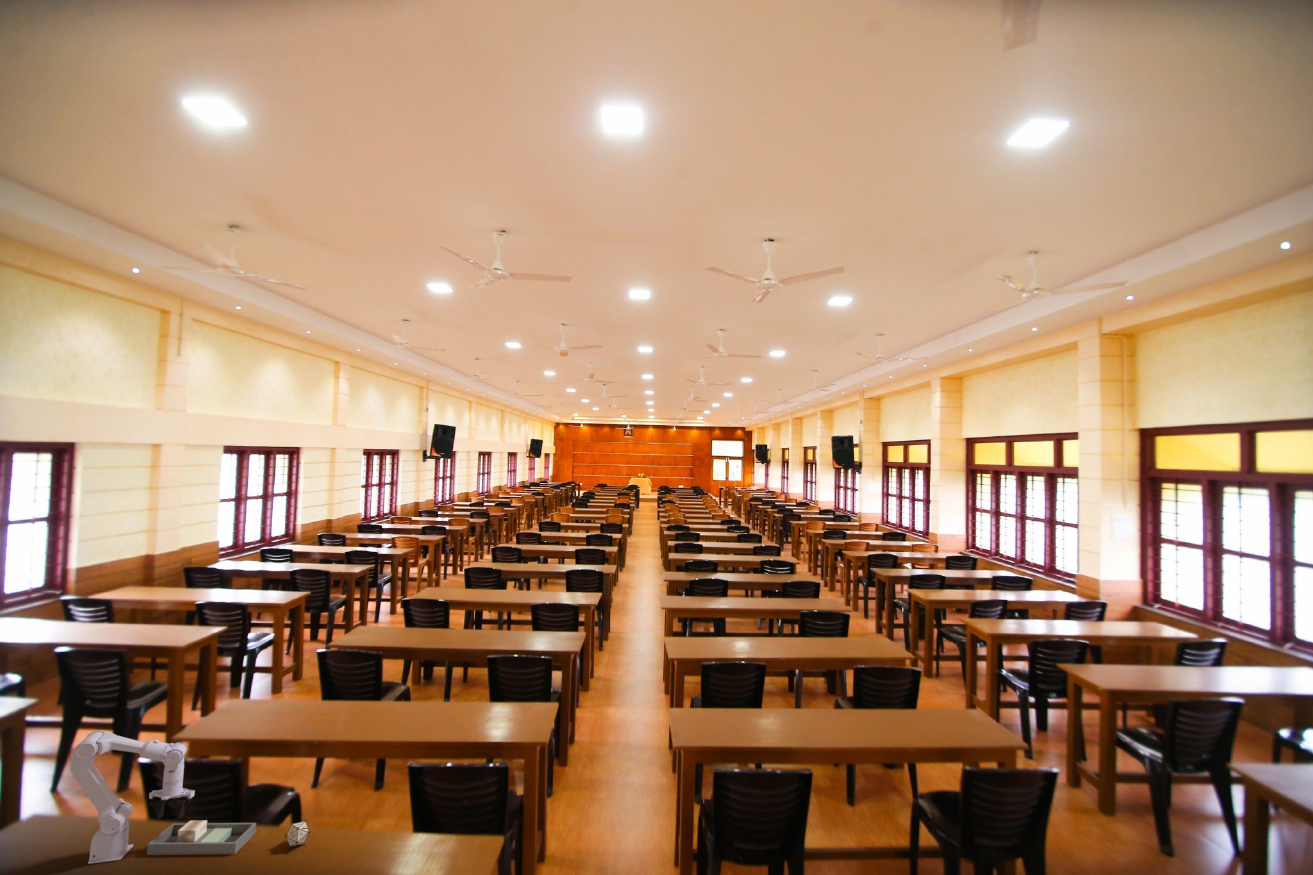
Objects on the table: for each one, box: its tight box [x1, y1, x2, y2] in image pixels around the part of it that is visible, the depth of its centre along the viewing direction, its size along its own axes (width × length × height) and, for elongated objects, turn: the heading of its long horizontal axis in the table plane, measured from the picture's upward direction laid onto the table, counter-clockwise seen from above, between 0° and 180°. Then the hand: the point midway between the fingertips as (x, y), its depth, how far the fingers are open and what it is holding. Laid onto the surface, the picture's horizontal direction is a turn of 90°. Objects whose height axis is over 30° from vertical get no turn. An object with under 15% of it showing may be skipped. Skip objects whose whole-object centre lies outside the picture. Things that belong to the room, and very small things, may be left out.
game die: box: [284, 818, 312, 850], centre depth 214 cm, size 9×8×10 cm
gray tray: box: [146, 822, 257, 856], centre depth 212 cm, size 30×12×4 cm, turn 94°
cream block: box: [177, 819, 208, 842], centre depth 212 cm, size 6×6×4 cm
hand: (170, 817), depth 212 cm, fingers open, 7 cm apart
